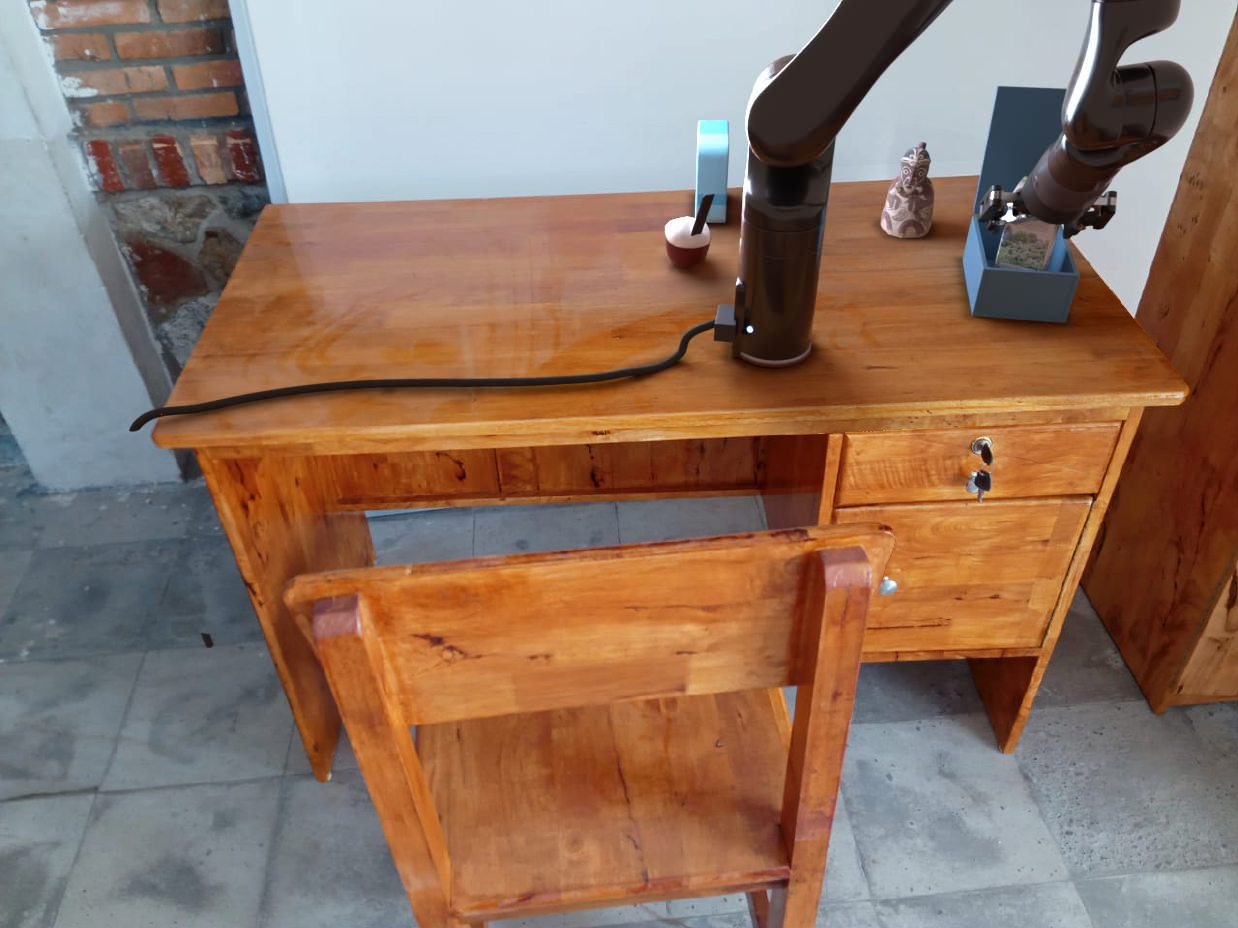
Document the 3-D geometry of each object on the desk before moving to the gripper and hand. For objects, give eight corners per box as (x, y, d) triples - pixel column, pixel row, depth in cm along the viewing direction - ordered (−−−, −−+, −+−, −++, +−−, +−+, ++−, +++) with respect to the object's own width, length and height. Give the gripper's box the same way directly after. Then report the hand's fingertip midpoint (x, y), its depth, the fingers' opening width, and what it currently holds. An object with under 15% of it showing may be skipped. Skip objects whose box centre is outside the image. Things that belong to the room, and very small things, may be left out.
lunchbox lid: (1092, 90, 118) (1091, 89, 118) (998, 86, 120) (997, 85, 120) (1061, 219, 126) (1060, 218, 126) (973, 214, 128) (972, 212, 128)
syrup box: (1042, 289, 124) (1073, 182, 115) (1030, 309, 121) (1062, 200, 111) (998, 278, 127) (1025, 173, 118) (985, 298, 123) (1012, 190, 114)
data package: (725, 226, 142) (729, 147, 134) (694, 226, 142) (697, 147, 135) (724, 193, 151) (728, 117, 144) (696, 193, 152) (698, 117, 144)
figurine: (872, 230, 140) (884, 150, 132) (891, 213, 144) (904, 134, 137) (919, 242, 137) (934, 160, 129) (937, 224, 141) (953, 144, 134)
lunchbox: (1065, 323, 119) (1080, 275, 115) (971, 316, 121) (983, 269, 117) (1047, 266, 130) (1060, 221, 126) (962, 260, 132) (972, 215, 128)
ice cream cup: (662, 248, 137) (663, 167, 129) (706, 247, 137) (709, 166, 129) (668, 280, 130) (668, 196, 122) (714, 279, 130) (717, 195, 122)
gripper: (1142, 147, 103) (1092, 204, 119) (1003, 141, 105) (972, 197, 121) (1137, 215, 102) (1087, 262, 118) (998, 207, 104) (967, 254, 120)
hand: (1029, 229), depth 119 cm, fingers open, 8 cm apart
